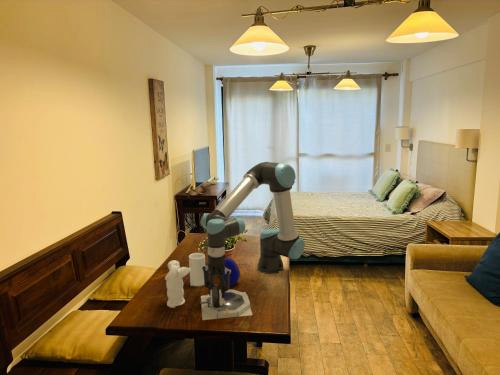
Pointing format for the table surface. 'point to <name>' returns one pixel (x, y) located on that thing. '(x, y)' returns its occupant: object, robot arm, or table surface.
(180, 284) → the cherub figurine
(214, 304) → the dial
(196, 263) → the cup
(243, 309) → the grey octagonal tray
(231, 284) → the ornament
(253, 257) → the table surface
